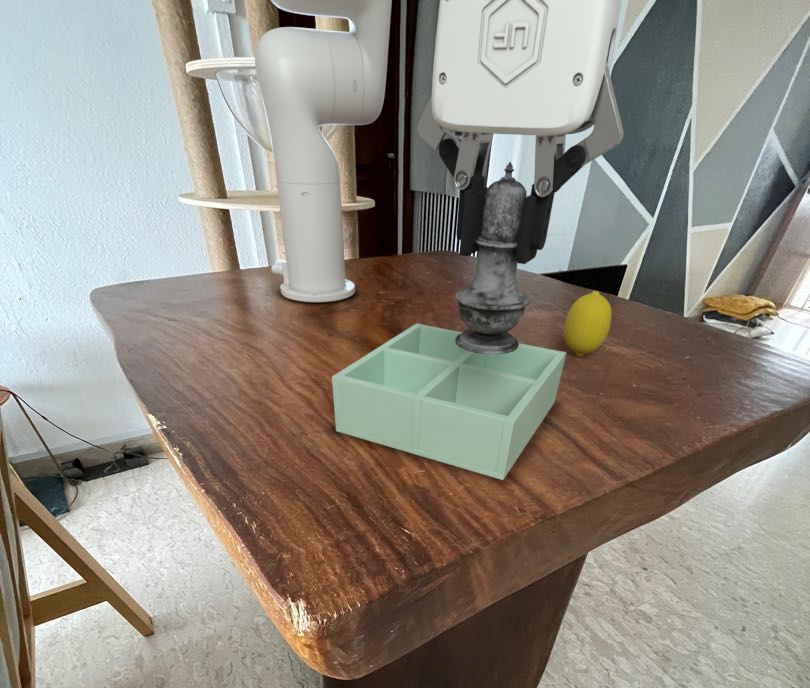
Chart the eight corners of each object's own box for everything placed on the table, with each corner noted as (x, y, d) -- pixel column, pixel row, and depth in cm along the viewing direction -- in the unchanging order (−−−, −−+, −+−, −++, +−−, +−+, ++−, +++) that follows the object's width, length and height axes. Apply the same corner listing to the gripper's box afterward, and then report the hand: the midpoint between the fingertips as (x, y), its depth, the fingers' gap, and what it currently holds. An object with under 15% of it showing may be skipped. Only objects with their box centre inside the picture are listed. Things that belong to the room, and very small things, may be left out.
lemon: (594, 368, 62) (613, 300, 57) (551, 358, 64) (566, 292, 59) (605, 354, 66) (624, 289, 60) (565, 345, 68) (580, 282, 62)
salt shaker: (521, 359, 38) (555, 167, 30) (447, 352, 39) (461, 163, 31) (523, 334, 43) (553, 160, 35) (456, 328, 44) (471, 157, 36)
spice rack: (335, 431, 49) (331, 376, 45) (414, 370, 60) (416, 323, 57) (503, 480, 43) (513, 422, 39) (554, 402, 54) (566, 352, 51)
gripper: (371, -160, 25) (376, 252, 37) (734, -226, 19) (601, 284, 31) (433, -113, 30) (420, 235, 42) (736, -155, 24) (620, 261, 36)
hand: (498, 253), depth 37 cm, fingers closed on salt shaker, 3 cm apart
